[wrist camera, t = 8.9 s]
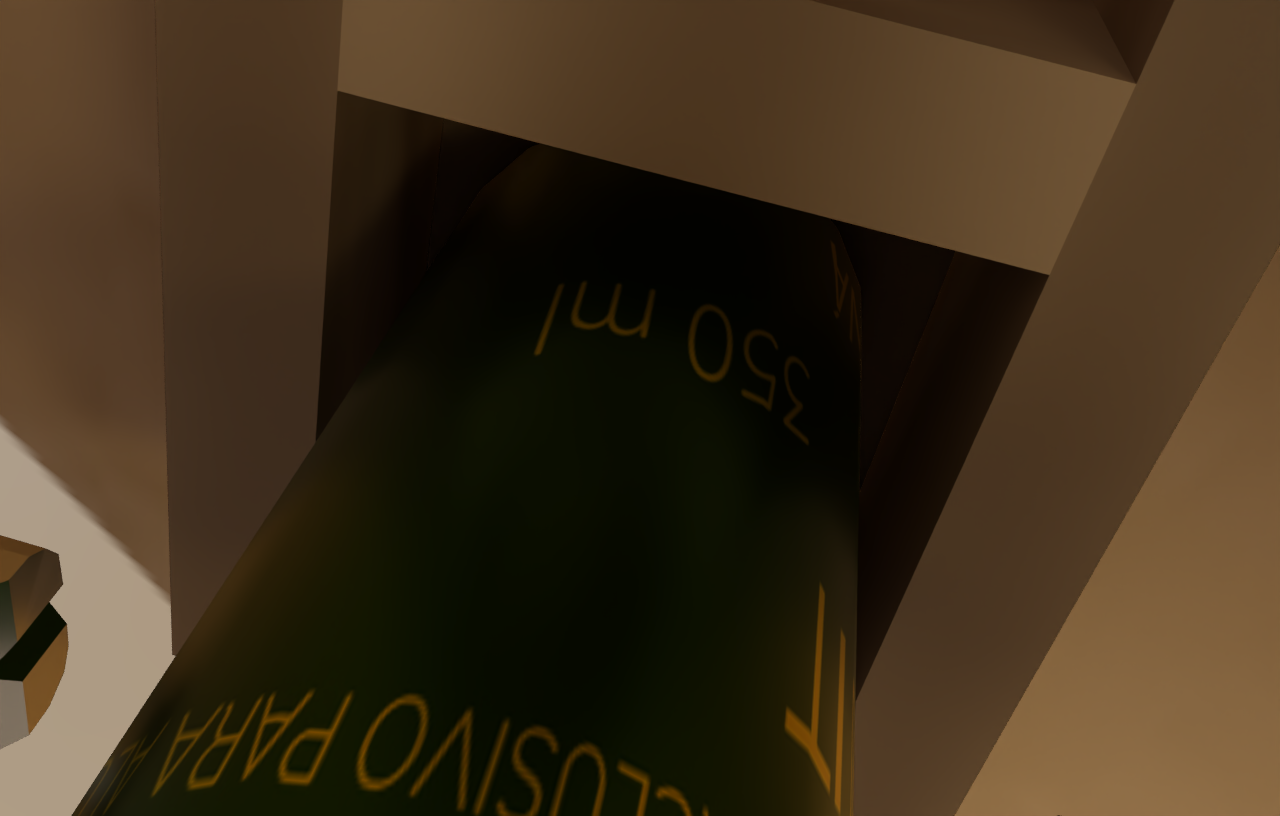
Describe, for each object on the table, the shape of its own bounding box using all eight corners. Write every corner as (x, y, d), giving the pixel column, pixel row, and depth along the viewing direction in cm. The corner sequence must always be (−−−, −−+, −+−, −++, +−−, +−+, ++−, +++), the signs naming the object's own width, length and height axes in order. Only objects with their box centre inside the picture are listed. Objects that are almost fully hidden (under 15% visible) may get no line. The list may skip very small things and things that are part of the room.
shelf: (1772, -1147, 9) (2333, -1605, 5) (921, 636, 19) (931, 856, 16) (390, -1475, 9) (97, -2120, 5) (293, 470, 19) (173, 653, 16)
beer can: (468, 433, 18) (-19, 1444, 8) (454, 75, 15) (-341, 998, 5) (833, 481, 18) (782, 1630, 8) (896, 121, 15) (940, 1253, 5)
